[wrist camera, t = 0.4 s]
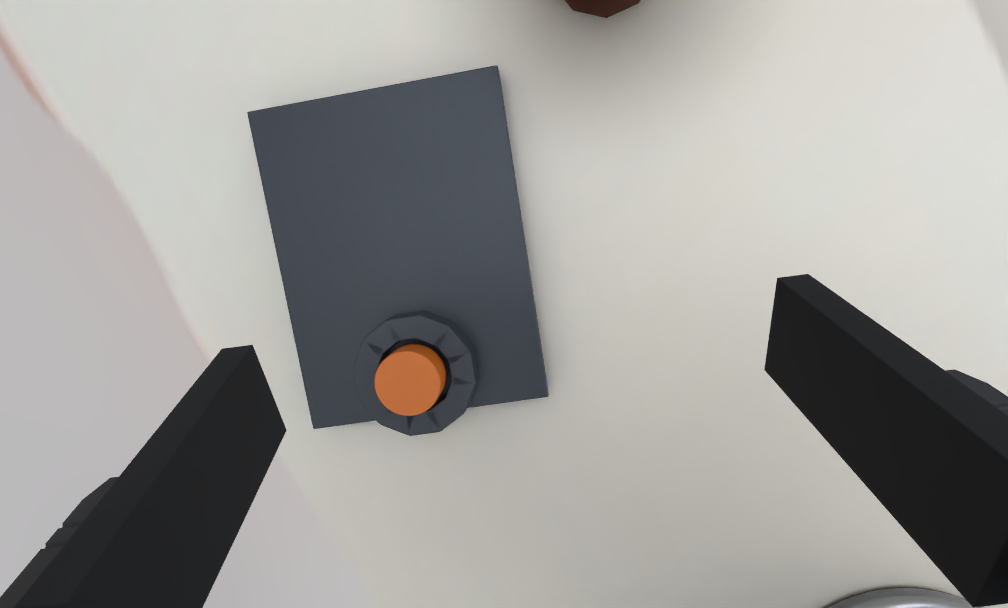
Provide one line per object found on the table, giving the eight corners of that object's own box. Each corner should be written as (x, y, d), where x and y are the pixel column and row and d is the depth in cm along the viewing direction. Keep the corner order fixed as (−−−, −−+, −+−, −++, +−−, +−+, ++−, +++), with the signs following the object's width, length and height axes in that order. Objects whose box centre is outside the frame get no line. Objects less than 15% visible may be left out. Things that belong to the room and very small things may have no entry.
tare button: (451, 400, 27) (445, 411, 25) (390, 408, 27) (380, 420, 25) (440, 339, 26) (434, 346, 24) (379, 348, 26) (368, 356, 25)
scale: (549, 398, 29) (551, 417, 26) (325, 429, 30) (302, 450, 27) (499, 73, 27) (494, 53, 24) (260, 118, 28) (228, 103, 25)
